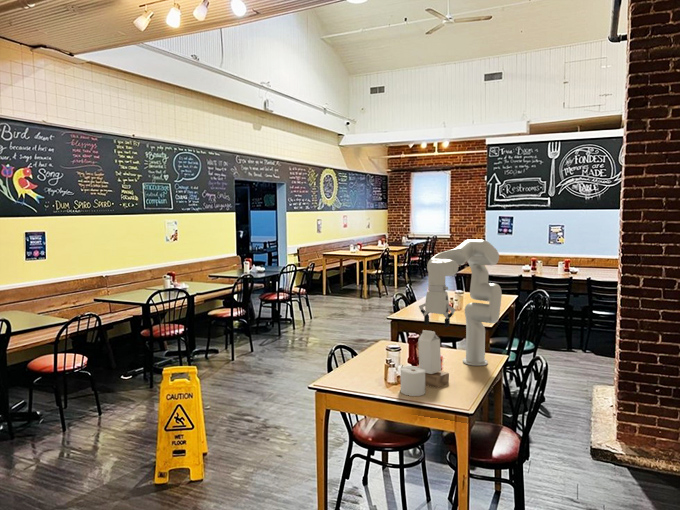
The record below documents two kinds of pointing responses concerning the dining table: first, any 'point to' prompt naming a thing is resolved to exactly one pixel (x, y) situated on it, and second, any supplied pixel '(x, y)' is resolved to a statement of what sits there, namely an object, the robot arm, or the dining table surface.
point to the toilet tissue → (412, 380)
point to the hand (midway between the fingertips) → (436, 325)
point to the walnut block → (436, 379)
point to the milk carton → (429, 352)
